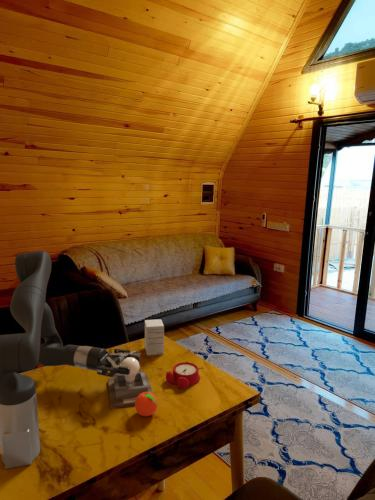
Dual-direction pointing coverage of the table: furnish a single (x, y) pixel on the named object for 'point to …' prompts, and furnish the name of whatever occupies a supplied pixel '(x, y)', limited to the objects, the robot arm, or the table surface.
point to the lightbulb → (134, 369)
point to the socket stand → (127, 389)
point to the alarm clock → (183, 375)
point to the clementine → (146, 404)
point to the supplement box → (154, 337)
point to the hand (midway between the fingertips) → (134, 365)
